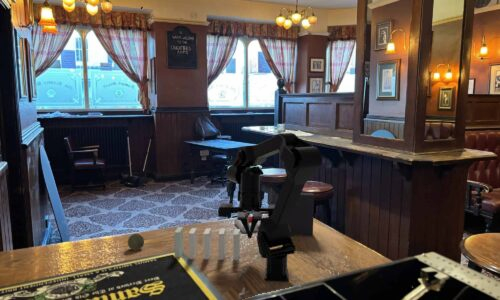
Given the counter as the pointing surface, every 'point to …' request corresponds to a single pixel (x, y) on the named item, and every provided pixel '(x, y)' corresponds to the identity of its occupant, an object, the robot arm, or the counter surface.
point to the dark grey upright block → (303, 216)
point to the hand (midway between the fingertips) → (249, 238)
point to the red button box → (240, 225)
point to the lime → (135, 241)
